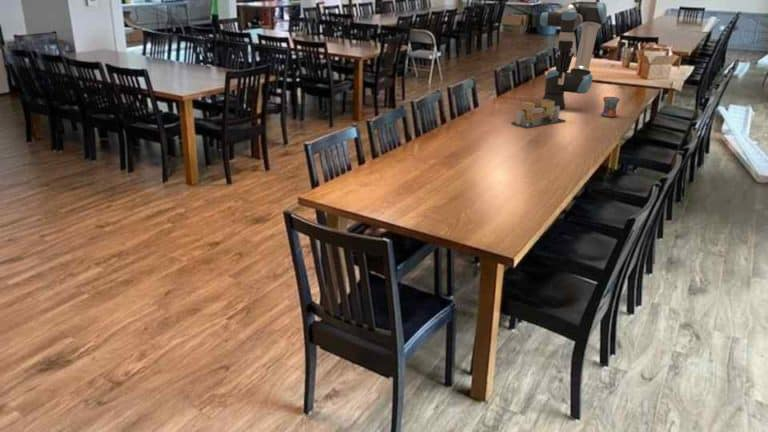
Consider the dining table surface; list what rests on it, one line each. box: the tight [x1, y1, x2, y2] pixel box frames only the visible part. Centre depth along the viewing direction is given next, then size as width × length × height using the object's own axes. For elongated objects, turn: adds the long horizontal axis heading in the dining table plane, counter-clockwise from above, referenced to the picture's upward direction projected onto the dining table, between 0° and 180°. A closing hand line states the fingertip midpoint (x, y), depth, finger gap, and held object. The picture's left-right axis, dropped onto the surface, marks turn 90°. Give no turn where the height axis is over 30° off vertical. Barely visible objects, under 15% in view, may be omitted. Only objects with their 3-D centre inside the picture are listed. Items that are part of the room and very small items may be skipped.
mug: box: [601, 96, 621, 118], centre depth 358 cm, size 12×9×11 cm
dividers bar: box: [515, 101, 560, 125], centre depth 339 cm, size 7×30×11 cm, turn 122°
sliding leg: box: [539, 99, 555, 120], centre depth 342 cm, size 7×4×10 cm, turn 32°
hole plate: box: [510, 116, 567, 129], centre depth 341 cm, size 12×30×2 cm, turn 122°
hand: (560, 84), depth 337 cm, fingers closed
